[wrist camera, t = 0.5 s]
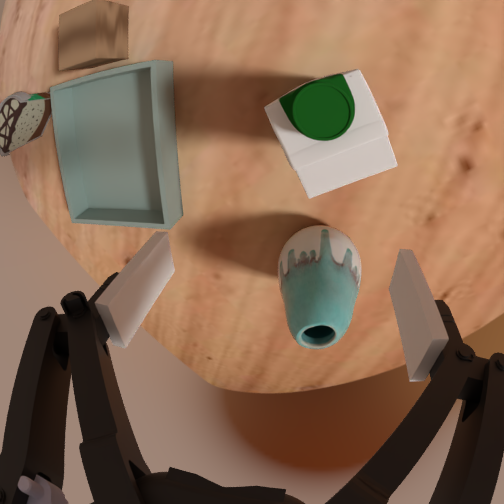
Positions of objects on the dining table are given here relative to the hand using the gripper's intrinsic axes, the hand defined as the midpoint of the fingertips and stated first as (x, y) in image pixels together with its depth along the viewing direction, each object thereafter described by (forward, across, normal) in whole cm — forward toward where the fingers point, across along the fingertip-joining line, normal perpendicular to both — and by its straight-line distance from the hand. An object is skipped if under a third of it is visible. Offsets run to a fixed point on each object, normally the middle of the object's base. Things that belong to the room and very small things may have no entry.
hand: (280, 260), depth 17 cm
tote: (+26, -27, +2) cm, 38 cm away
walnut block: (+26, -28, +20) cm, 43 cm away
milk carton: (+26, +3, +5) cm, 27 cm away
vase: (+26, +4, -15) cm, 30 cm away
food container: (+26, -45, +11) cm, 53 cm away
